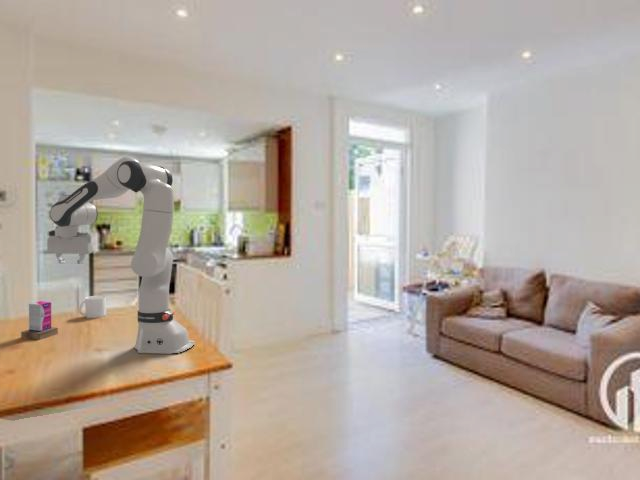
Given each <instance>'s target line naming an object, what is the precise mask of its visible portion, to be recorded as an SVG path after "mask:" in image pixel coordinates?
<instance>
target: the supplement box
mask: <svg viewBox="0 0 640 480" xmlns="http://www.w3.org/2000/svg"><path fill="white" fill-rule="evenodd" d="M51 327H52V302H51V301H42V300H40V301H34V302H30V303H28V330H29V331H35V332H41V331H44V330H47V329H51Z"/></svg>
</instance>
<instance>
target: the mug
mask: <svg viewBox="0 0 640 480" xmlns="http://www.w3.org/2000/svg"><path fill="white" fill-rule="evenodd" d="M84 304H85V305H84ZM83 305H84V308H85V313H83V312H82V307H83ZM78 307H79V308H78V312H79V314H80V315H81V316H84V317H85V318H86V319H99V318H104V317H106V316H107V297H106V296H105V295H91V296H86V297H85V298H84V300H83V301H81V303H80V305H79V306H78Z"/></svg>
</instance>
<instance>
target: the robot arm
mask: <svg viewBox="0 0 640 480" xmlns="http://www.w3.org/2000/svg"><path fill="white" fill-rule="evenodd" d="M173 179H174V178H173V174H172V173H171V171H170V170H168V169H167V168H166V167H164V166H160V165H159V166H158V165H155V164H151V163H149V162H146V161H145V162H144V161H143V162H142V161H138V159H136V158H135V157H132V156H123V157H122V158H119V159H118V160H117V161H115V162H114V163H112V164H111V165H110V166H109V167H108V168H107V169H106V170H104V172H102V173H101V174H99V175H98V176H97V177H95V178H94V179H92V180H90V181H88V182H86V183H84V184H83V185H82V186H80V187H79V188H77V189H76V190H74V192H72V193H71V194H64V195H61V196H59V197H58V199H57V202H55V203H54V204H53V205H52V206H51V208H50V209H49V210H50V211H49V217H50V220H51V222H53V224H55V225H56V226H57V228H54V229H52V230H49V231H47V233H46V234H47V240H46V245H47V246H46V249H47V251H48V253H49V254H55V257H56V258H57V262H58V264H65V258H63V257H62V256H63V254H69V255H70V254H73V255H75V254H76V255H78V256H79V259H77V261H76V264H77V265H83V264H84V259H85V257H86V255H89V254H92V253H93V252H94V247H93V242H92V235H91V234H90V233H88V232H82V226H88V225H93V224H94V223H96V221H97V220H98V217H99V211H98V208H97V207H96V206H95V205H94V204H93V203H90V202H93V201H96V200H104V199H115V198H118V197H120V196H123V195H124V194H125V193H127V192H128V191H129V190H131V191H132V192H134V193H138V192H140V193H141V194H142V195H143V207H142V216H141V224H140V225H141V226H140V232H139V236H138V240H137V243H136V247H135V251H134V253H133V256H132V259H131V262H130V267H131V269H132V271H133V272H134V273H135V275H137V276H139V277H141V280H140V281H141V282H140V286H139V288H138V310H137V323H138V327H137V328H138V329H137V336H136V340H135V345H134V349H135V350H137V353H138V354H160V355H161V354H167V355H169V354H170V355H172V353H178V354H181V353H180V352H182V353H184V352H183V351H185V350H187V349H189V348H191V347H192V346H193V345H194V344H195V345H196V343H195V340H192V339H190V335H189V331H188V329H187V328H186V327H184V326H183V325H182V324H181V323H179V321H177V320H175V319H174V315H175V314H176V311H175V310H174V311H171V309H170V284H171V277H172V269H173V263H174V262H173V261H174V255H173V252H172V250H171V249H170V248H168V245H169V241H170V238H171V235H172V232H173V231H172V229H173V220H174V213H175V212H174V209H175V197H174V196H175V195H174V189H173V187H172V186H173ZM195 345H194V346H195ZM194 346H193V347H194ZM193 347H192V348H193ZM192 348H191V349H192ZM189 350H190V349H189ZM187 351H188V350H187ZM185 352H186V351H185Z"/></svg>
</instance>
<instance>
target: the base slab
mask: <svg viewBox="0 0 640 480" xmlns="http://www.w3.org/2000/svg"><path fill="white" fill-rule="evenodd" d="M58 332H59V331H58V327H53V326H51V329H47V330H44V331H41V332H35V331H29V329H27V330H24V331H23V330H22V331H21V332H20V336H21V339H28V340H29V339H30V340H43V339H45V338H49V337H51V336H54V335H57V334H59V333H58Z"/></svg>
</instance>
